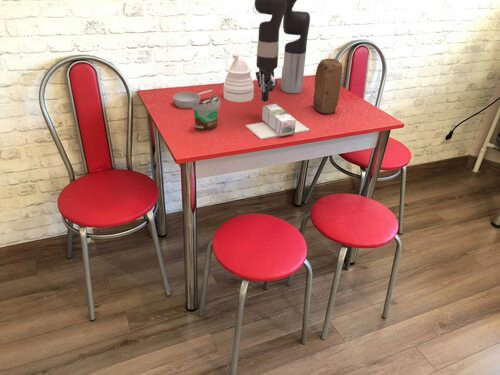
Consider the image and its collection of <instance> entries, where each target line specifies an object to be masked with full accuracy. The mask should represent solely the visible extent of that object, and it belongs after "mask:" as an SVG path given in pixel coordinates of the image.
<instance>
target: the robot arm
mask: <svg viewBox="0 0 500 375" xmlns="http://www.w3.org/2000/svg"><path fill="white" fill-rule="evenodd" d="M297 1H298V0H254V7H255V10H256V12H258V13H259V14H263V15H269V16H271V18H270V19H269V20H267V21H262V22H260V23H259V26H258V40H257V45H256V46H257V48H256V67H257V68H258V71H255V77H256V81H257V84H258V85H257V86H258V88H260V90H261V96H260V98H261V101H262V102H268V101H269V98H270V97H269V96H270V94H269V93H270V92H273V91H274V89H275V88H276V86H277V84H278V79H277V80H276V79H275V70H276V69H277V68H278V62H279V51H280V49H279V45H280V44H279V43H280V42H279V38H280V29H281V24H282V28H283V32H284V34H286V35H290V36H291V35H293V36H299V38H298V39H295V40H293V41H290V42H287V43H286V44H284V45H285V46H284V54H283V66H282V69H281V79H280V81H281V82H280V88H281V91H282V92H284V93H288V94H299V93H302V91H303V82H304V72H305V63H306V55H307V43H308V38H309V37H308V36H309V29H310V24H311V14H310V13H309V12H307V11H299V10H293V8H294V6H295V4H296V2H297Z"/></svg>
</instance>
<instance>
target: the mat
mask: <svg viewBox="0 0 500 375" xmlns="http://www.w3.org/2000/svg"><path fill="white" fill-rule="evenodd" d="M245 128H246V129H248V130H249V131H250V132H251V133H252V134H253V135H254V136H255V137H257V138H258V139H259V140H261V141H262V140H269V139H275V138H278V137H281V136H280V135H279V134H278V133H277V132H276V131H275V130H274V129H273V128H271V127H270V126H269V125H268V124H267V123H266V122H265V121H263V122H256V123H251V124H246V125H245ZM310 130H311V129H310V128H308V127H307V126H305V125H304V124H302V123H301V122H299V121H298V120H297V119H296V125H295V131H294V134H293V135H295V134H300V133H306V132H307V133H308V132H310ZM289 135H290V136H291V135H292V134H288V135H287V136H289ZM284 136H286V135H283V136H282V137H284Z"/></svg>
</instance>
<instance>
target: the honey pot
mask: <svg viewBox="0 0 500 375" xmlns="http://www.w3.org/2000/svg"><path fill="white" fill-rule="evenodd" d="M232 59H234V60H233V61H232V62H231V66H229V67H227V69H226V71H227V75H226V77H225V79H224V83H223V98H224V99H225V100H227V101H229V102H234V103H245V102H250V101H252V100H253V99H254V96H255V95H254V94H255V92H254V91H255V88H254V87H255V86H254V85H255V84H254V83H253V78H252V75H251V72H252V69H251V68H250V67H248V65H247V62H246V61H245V60H244V59H243V57H241V56H240V54H238V53H234V54H233V53H232Z"/></svg>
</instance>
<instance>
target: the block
mask: <svg viewBox="0 0 500 375" xmlns="http://www.w3.org/2000/svg"><path fill="white" fill-rule="evenodd" d="M342 76H343V63H342V62H340V61H339V60H338V59H334V58H324V59H321V60H320V61H319V63H318V65H317V66H316V70H315V78H314V94H313V102H312V103H313V107H314V108H315V109H316V111H317V112H319V113H321V114H327V115H328V114H329V115H330V114H332V113H334V112H335V111H336V109H337V107H338V105H339V99H340V93H341V88H342V87H341V86H342Z"/></svg>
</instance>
